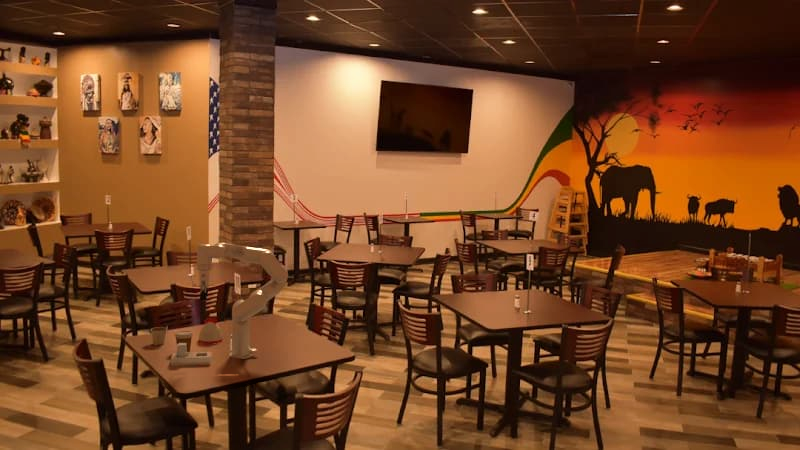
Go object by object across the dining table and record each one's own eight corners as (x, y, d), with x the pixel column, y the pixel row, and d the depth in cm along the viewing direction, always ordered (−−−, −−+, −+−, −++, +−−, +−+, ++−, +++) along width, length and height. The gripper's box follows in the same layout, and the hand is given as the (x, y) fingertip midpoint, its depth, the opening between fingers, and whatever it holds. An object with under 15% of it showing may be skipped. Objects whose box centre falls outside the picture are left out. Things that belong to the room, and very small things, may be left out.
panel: (211, 360, 369) (211, 351, 368) (210, 366, 359) (210, 357, 359) (173, 361, 365) (173, 352, 364) (171, 367, 355) (171, 358, 355)
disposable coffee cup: (174, 356, 373) (174, 335, 372) (175, 351, 383) (175, 330, 381) (192, 355, 376) (192, 334, 375) (192, 350, 385) (193, 330, 384)
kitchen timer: (218, 344, 399) (219, 319, 398) (195, 343, 399) (195, 318, 398) (225, 338, 413) (225, 314, 411) (202, 337, 413) (203, 313, 412)
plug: (186, 361, 363) (186, 342, 362) (185, 363, 359) (185, 345, 358) (177, 361, 362) (177, 343, 361) (176, 363, 358) (176, 345, 357)
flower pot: (170, 341, 400) (170, 327, 400) (162, 346, 391) (162, 331, 390) (154, 340, 401) (154, 326, 400) (147, 345, 392) (147, 330, 391)
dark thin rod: (206, 366, 359) (206, 364, 358) (206, 367, 358) (206, 365, 358) (177, 369, 353) (177, 367, 353) (177, 369, 352) (177, 367, 352)
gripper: (210, 269, 362) (209, 301, 364) (212, 264, 379) (211, 294, 380) (195, 269, 360) (195, 301, 362) (198, 264, 377) (198, 294, 379)
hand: (203, 297), depth 371 cm, fingers open, 9 cm apart
